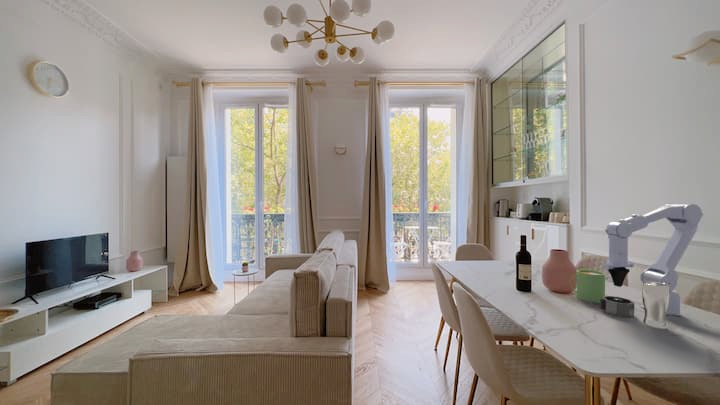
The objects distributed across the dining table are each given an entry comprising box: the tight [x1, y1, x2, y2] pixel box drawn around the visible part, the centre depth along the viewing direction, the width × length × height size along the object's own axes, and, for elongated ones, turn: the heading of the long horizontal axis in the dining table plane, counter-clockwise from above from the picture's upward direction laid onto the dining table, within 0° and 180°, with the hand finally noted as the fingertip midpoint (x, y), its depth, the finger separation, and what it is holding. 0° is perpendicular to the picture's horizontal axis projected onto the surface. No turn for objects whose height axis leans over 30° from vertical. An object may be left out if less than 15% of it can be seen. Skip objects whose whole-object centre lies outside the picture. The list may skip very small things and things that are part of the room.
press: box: [599, 295, 635, 319], centre depth 120 cm, size 10×9×5 cm
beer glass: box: [641, 281, 669, 330], centre depth 108 cm, size 7×7×15 cm
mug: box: [569, 268, 606, 304], centre depth 138 cm, size 13×10×12 cm
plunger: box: [613, 298, 623, 303], centre depth 120 cm, size 7×7×5 cm
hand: (618, 286), depth 123 cm, fingers closed
